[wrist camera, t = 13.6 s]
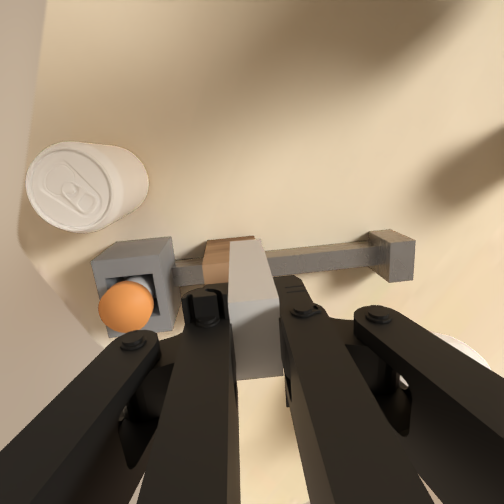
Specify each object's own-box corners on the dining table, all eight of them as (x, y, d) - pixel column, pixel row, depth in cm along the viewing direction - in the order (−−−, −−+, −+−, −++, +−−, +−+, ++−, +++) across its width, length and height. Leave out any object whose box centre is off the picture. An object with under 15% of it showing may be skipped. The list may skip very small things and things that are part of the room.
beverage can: (108, 130, 37) (56, 118, 26) (163, 179, 39) (138, 188, 28) (66, 182, 39) (-1, 193, 27) (122, 227, 41) (81, 254, 29)
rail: (173, 251, 42) (165, 266, 36) (390, 229, 43) (415, 240, 38) (179, 286, 43) (172, 306, 38) (389, 264, 45) (413, 280, 39)
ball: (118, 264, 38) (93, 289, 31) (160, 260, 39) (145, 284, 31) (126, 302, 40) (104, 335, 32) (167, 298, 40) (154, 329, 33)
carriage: (207, 240, 41) (202, 265, 32) (253, 235, 42) (262, 258, 32) (214, 291, 44) (210, 329, 34) (258, 287, 44) (267, 322, 34)
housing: (115, 241, 41) (90, 261, 33) (171, 236, 41) (158, 254, 34) (130, 308, 44) (109, 341, 36) (181, 303, 44) (172, 333, 36)
